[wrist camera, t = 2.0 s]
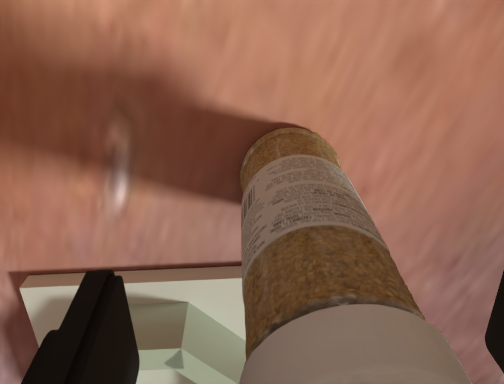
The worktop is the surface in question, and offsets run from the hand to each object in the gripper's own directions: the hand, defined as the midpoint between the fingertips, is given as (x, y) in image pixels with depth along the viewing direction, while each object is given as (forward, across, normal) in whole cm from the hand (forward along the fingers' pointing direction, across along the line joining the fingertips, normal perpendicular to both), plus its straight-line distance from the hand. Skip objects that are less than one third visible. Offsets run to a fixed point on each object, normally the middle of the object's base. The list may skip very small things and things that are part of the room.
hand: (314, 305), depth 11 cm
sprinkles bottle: (+10, 0, +1) cm, 10 cm away
